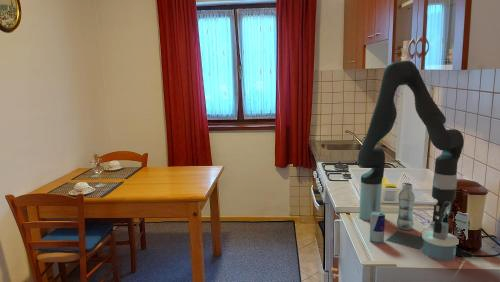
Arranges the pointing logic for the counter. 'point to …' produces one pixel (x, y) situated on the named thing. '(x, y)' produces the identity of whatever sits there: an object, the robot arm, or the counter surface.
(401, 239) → the mat
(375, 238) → the energy drink
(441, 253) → the bowl
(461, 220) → the syrup box
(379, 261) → the counter surface
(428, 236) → the lid
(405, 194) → the plastic bottle
